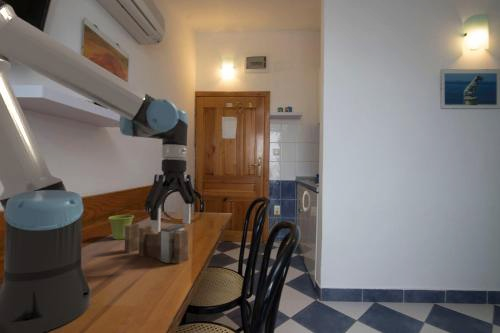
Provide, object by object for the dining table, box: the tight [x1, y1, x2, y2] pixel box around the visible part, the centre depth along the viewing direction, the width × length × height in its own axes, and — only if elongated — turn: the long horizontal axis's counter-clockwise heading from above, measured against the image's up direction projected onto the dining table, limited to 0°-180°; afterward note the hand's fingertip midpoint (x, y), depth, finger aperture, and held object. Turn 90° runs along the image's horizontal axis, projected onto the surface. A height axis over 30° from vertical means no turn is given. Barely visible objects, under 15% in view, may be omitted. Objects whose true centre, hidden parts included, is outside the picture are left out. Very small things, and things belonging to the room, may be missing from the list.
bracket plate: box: [160, 223, 185, 264], centre depth 79 cm, size 7×3×10 cm, turn 155°
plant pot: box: [108, 214, 135, 240], centre depth 104 cm, size 9×9×9 cm
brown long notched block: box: [124, 223, 189, 265], centre depth 82 cm, size 4×24×9 cm, turn 65°
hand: (172, 227), depth 79 cm, fingers open, 13 cm apart
